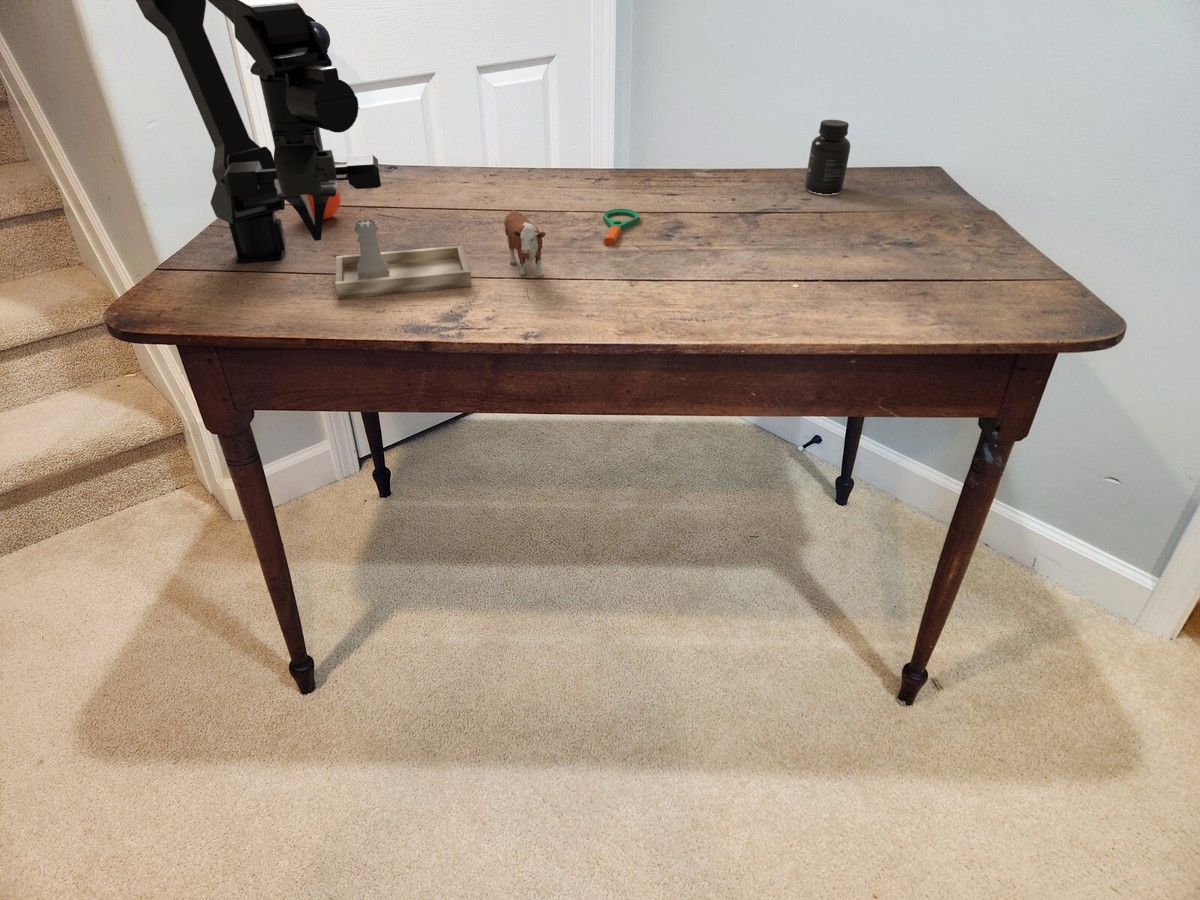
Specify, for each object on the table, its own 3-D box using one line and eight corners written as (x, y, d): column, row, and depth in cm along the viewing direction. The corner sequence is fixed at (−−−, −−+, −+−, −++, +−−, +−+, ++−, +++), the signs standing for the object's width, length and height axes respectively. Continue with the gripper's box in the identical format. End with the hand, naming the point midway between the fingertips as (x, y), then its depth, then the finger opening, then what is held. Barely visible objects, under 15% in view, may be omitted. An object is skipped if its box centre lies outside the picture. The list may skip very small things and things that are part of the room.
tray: (338, 299, 107) (335, 284, 106) (339, 270, 115) (336, 255, 114) (471, 286, 111) (470, 271, 109) (463, 259, 119) (462, 245, 117)
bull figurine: (520, 290, 110) (517, 233, 105) (503, 254, 120) (500, 201, 116) (551, 287, 111) (549, 231, 106) (531, 251, 121) (529, 199, 117)
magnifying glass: (606, 214, 137) (607, 204, 136) (641, 216, 136) (641, 207, 135) (590, 246, 124) (590, 236, 123) (628, 249, 124) (628, 239, 123)
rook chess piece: (387, 283, 110) (378, 227, 105) (354, 283, 110) (344, 227, 105) (393, 270, 114) (384, 215, 109) (361, 270, 113) (352, 215, 109)
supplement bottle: (800, 184, 150) (811, 117, 143) (837, 185, 150) (849, 118, 143) (808, 196, 144) (819, 127, 137) (845, 196, 144) (859, 127, 137)
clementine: (293, 227, 129) (283, 183, 124) (294, 213, 134) (285, 171, 130) (344, 223, 130) (336, 180, 126) (343, 209, 136) (335, 167, 132)
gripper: (202, 139, 89) (237, 269, 99) (371, 130, 93) (390, 256, 102) (215, 115, 98) (247, 236, 107) (370, 108, 102) (387, 226, 111)
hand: (318, 239), depth 107 cm, fingers closed
